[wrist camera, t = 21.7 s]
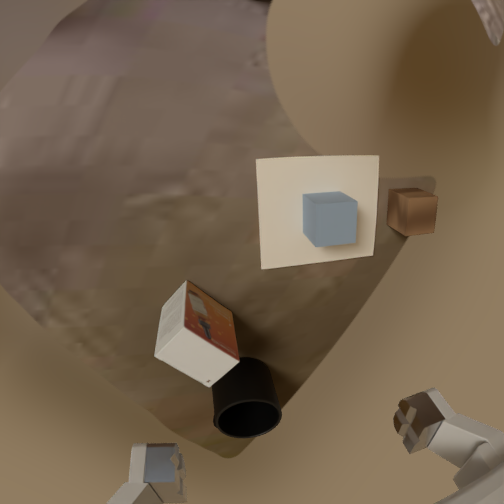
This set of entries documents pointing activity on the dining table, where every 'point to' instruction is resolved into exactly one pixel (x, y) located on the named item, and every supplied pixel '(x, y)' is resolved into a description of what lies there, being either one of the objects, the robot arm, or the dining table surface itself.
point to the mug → (246, 400)
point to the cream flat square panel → (291, 205)
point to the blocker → (411, 211)
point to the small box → (197, 335)
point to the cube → (329, 218)
